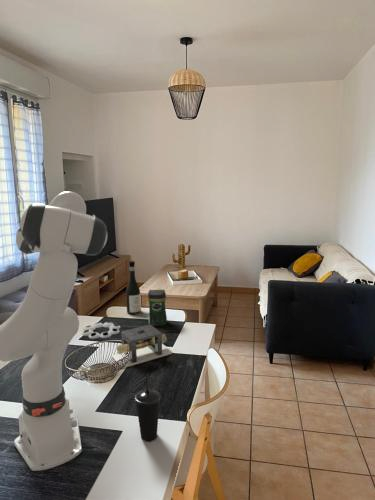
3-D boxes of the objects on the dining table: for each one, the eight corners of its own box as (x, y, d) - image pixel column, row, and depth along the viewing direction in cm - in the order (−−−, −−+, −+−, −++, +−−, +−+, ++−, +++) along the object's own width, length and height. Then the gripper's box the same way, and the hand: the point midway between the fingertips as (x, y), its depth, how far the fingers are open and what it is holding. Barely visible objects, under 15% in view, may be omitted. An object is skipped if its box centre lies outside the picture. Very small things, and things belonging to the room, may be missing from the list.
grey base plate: (160, 344, 176) (160, 342, 176) (172, 353, 167) (172, 351, 167) (111, 357, 164) (111, 355, 164) (121, 368, 155) (121, 366, 154)
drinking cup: (140, 448, 110) (137, 386, 106) (133, 432, 117) (130, 373, 113) (165, 440, 113) (163, 380, 109) (156, 425, 120) (155, 367, 116)
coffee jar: (167, 320, 204) (166, 287, 200) (166, 326, 196) (165, 292, 192) (149, 320, 204) (148, 287, 200) (147, 326, 196) (146, 292, 192)
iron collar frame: (151, 344, 173) (150, 324, 171) (162, 354, 164) (161, 333, 162) (122, 352, 166) (121, 331, 164) (132, 363, 157) (131, 340, 155)
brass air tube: (162, 340, 172) (162, 332, 171) (166, 343, 169) (166, 335, 168) (117, 352, 161) (116, 344, 160) (120, 356, 158) (120, 347, 157)
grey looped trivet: (95, 321, 205) (94, 318, 204) (127, 325, 199) (127, 322, 198) (73, 336, 186) (73, 333, 186) (109, 341, 180) (108, 337, 180)
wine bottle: (143, 312, 215) (141, 261, 209) (130, 316, 211) (128, 263, 205) (137, 308, 222) (135, 259, 216) (124, 311, 217) (122, 261, 211)
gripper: (68, 258, 139) (71, 294, 142) (55, 249, 156) (58, 281, 159) (50, 260, 136) (54, 297, 138) (39, 250, 153) (42, 283, 155)
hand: (56, 288), depth 149 cm, fingers closed
